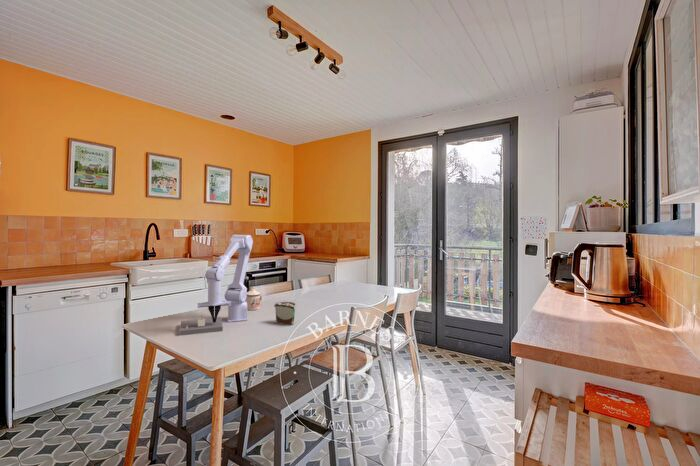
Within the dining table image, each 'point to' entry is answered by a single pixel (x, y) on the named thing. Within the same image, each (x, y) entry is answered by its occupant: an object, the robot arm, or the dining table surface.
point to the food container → (285, 312)
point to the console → (192, 326)
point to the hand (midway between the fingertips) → (214, 321)
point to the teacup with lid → (253, 300)
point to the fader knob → (201, 321)
